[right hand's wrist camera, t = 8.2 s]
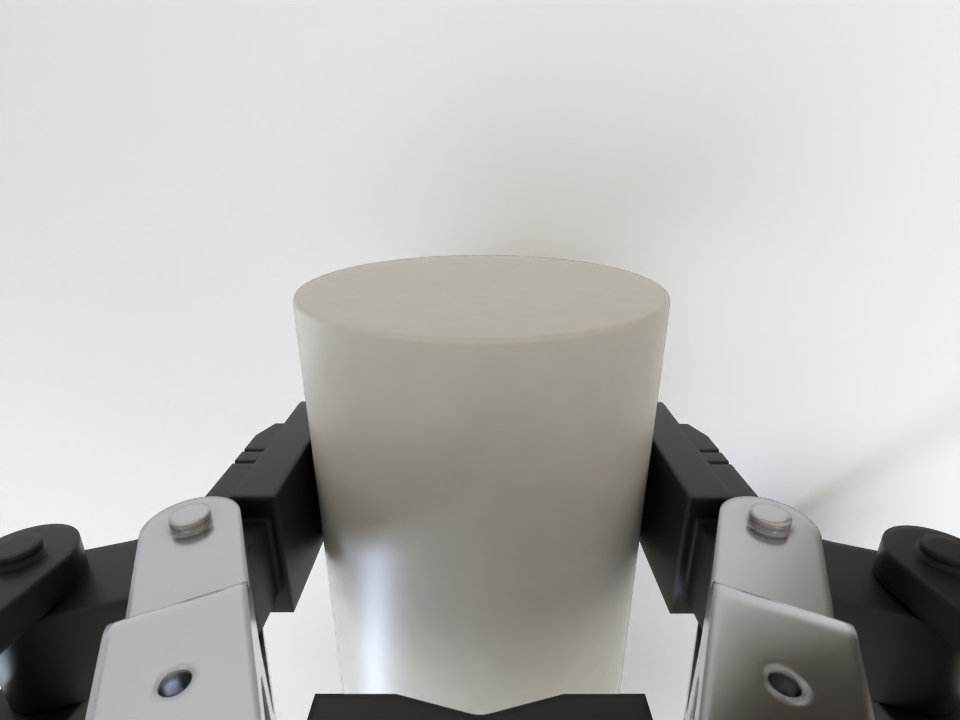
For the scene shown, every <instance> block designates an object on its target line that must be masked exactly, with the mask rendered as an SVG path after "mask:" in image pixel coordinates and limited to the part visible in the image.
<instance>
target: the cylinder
mask: <svg viewBox="0 0 960 720" xmlns="http://www.w3.org/2000/svg"><path fill="white" fill-rule="evenodd" d="M293 306H294V314H295V321H296V329H297V337H298V345H299V353H300V360H301V368H302V376H303V384H304V391H305V399H306V407H307V415H308V423H309V430H310V438H311V446H312V454H313V462H314V469H315V477H316V485H317V493H318V501H319V508H320V516H321V524H322V532H323V540H324V547H325V555H326V563H327V571H328V578H329V586H330V594H331V602H332V610H333V617H334V625H335V633H336V641H337V649H338V656H339V664H340V672H341V680H342V688H343V694H399V695H402V696H406V697H410V698H414V699H417V700H421V701H425V702H429V703H433V704H436V705H440V706H444V707H448V708H451V709H455V710H459V711H463V712H467V713H470V714H476V715H484V714H490V713H493V712H497V711H501V710H505V709H509V708H512V707H516V706H520V705H524V704H527V703H531V702H535V701H539V700H543V699H546V698H550V697H554V696H558V695H561V694H619V692H620V685H621V677H622V669H623V661H624V654H625V646H626V638H627V631H628V623H629V615H630V608H631V600H632V592H633V585H634V577H635V569H636V562H637V554H638V546H639V539H640V531H641V523H642V516H643V508H644V500H645V493H646V485H647V477H648V470H649V462H650V454H651V447H652V439H653V431H654V423H655V416H656V408H657V400H658V393H659V385H660V377H661V370H662V362H663V354H664V347H665V339H666V331H667V324H668V316H669V308H670V297H669V295H668V293H667V291H666V290H665V289H664V288H663V287H662V286H660V285H659V284H657V283H656V282H654V281H652V280H650V279H648V278H645V277H643V276H640V275H638V274H635V273H631V272H628V271H625V270H621V269H617V268H613V267H608V266H603V265H598V264H592V263H586V262H579V261H572V260H564V259H554V258H542V257H527V256H504V255H459V256H435V257H420V258H409V259H399V260H391V261H383V262H377V263H370V264H364V265H360V266H355V267H350V268H346V269H342V270H338V271H335V272H331V273H328V274H325V275H323V276H320V277H318V278H315V279H313V280H311V281H309V282H307V283H306V284H304V285H303V286H301V287H300V288H299V289H298V290H297V292H296V293H295V295H294V298H293Z"/></svg>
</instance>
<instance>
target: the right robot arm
mask: <svg viewBox="0 0 960 720" xmlns="http://www.w3.org/2000/svg"><path fill="white" fill-rule="evenodd" d="M639 541H640V543H641V546H642V548H643V550H644V553H645V555H646V558H647V560H648V562H649V565H650V567H651V569H652V572H653V574H654V576H655V579H656V581H657V584H658V586H659V588H660V591H661V593H662V595H663V598H664V600H665V602H666V605H667V607H668V610H669V612H670V613H694V615H695V617H696V619H697V621H698V626H697V631H696V637H695V642H694V649H693V656H692V664H691V671H690V678H689V685H688V692H687V700H686V707H685V714H684V720H960V538H957V537H955V536H952V535H949V534H947V533H944V532H940V531H937V530H933V529H929V528H924V527H918V526H895V527H892V528H889V529H888V530H886V531H885V532H884V534H883V536H882V539H881V542H880V545H879V548H878V551H875V550H870V549H865V548H860V547H855V546H850V545H845V544H840V543H835V542H831V541H827V540H823V539H822V538H821V534H820V531H819V530H818V528H817V526H816V525H815V524H814V523H813V522H812V521H811V520H810V519H809V518H808V517H806V516H805V515H803V514H802V513H801V512H799V511H797V510H795V509H794V508H792V507H789V506H787V505H785V504H782V503H780V502H777V501H774V500H770V499H766V498H761V497H758V496H757V495H756V494H755V492H754V491H753V490H752V489H751V488H750V486H749V485H748V484H747V483H746V482H745V480H744V479H743V478H742V477H741V476H740V475H739V473H738V472H737V471H736V470H735V469H734V467H733V466H732V465H731V464H729V461H728V460H727V459H726V458H725V457H724V455H723V454H722V453H719V449H718V448H717V447H716V446H715V445H714V443H713V442H712V441H711V440H710V439H709V437H708V436H706V435H705V434H703V433H701V432H700V431H698V430H696V429H695V428H693V427H691V426H690V425H688V424H679V423H678V422H677V421H676V419H675V418H674V417H673V416H672V414H671V413H670V412H669V410H668V409H667V408H666V406H665V405H664V404H663V403H662V402H657V408H656V416H655V423H654V431H653V439H652V447H651V454H650V462H649V470H648V477H647V485H646V493H645V500H644V508H643V516H642V523H641V531H640V539H639ZM322 543H323V532H322V524H321V516H320V508H319V501H318V493H317V485H316V477H315V469H314V462H313V454H312V446H311V438H310V430H309V423H308V415H307V407H306V402H300V403H299V405H298V406H297V407H296V409H295V410H294V411H293V413H292V414H291V415H290V417H289V418H288V419H287V420H286V422H285V423H284V424H274V425H272V426H271V427H269V428H267V429H266V430H264V431H262V432H261V433H259V434H257V435H256V436H255V437H254V438H253V440H252V441H251V442H250V443H249V444H248V446H247V447H246V448H245V452H242V453H241V454H240V455H239V457H238V458H237V459H236V460H235V464H232V465H231V466H230V467H229V469H228V470H227V471H226V472H225V473H224V475H223V476H222V477H221V478H220V480H219V481H218V482H217V483H216V484H215V486H214V487H213V488H212V489H211V490H210V492H209V493H208V494H207V495H206V496H205V497H199V498H194V499H190V500H186V501H183V502H180V503H178V504H175V505H173V506H171V507H168V508H166V509H165V510H163V511H161V512H159V513H158V514H157V515H155V516H154V517H152V518H151V519H150V520H149V521H148V522H147V523H146V524H145V525H144V526H143V528H142V530H141V531H140V534H139V538H138V539H137V540H133V541H128V542H123V543H118V544H113V545H108V546H103V547H99V548H94V549H89V550H85V549H84V546H83V543H82V540H81V537H80V534H79V532H78V530H77V529H75V528H74V527H72V526H69V525H64V524H47V525H40V526H35V527H31V528H26V529H23V530H20V531H17V532H14V533H11V534H9V535H6V536H4V537H1V538H0V687H1V690H0V720H276V714H275V707H274V700H273V692H272V685H271V678H270V671H269V664H268V656H267V649H266V642H265V637H264V631H263V626H264V624H265V622H266V620H267V618H268V616H269V614H270V612H294V610H295V608H296V605H297V603H298V601H299V598H300V596H301V593H302V591H303V589H304V586H305V584H306V581H307V579H308V577H309V574H310V572H311V569H312V567H313V565H314V562H315V560H316V557H317V555H318V553H319V550H320V548H321V545H322ZM307 720H653V719H652V716H651V712H650V709H649V706H648V703H647V700H646V696H645V694H561V695H558V696H554V697H550V698H546V699H543V700H539V701H535V702H531V703H527V704H524V705H520V706H516V707H512V708H509V709H505V710H501V711H497V712H493V713H490V714H484V715H476V714H470V713H467V712H463V711H459V710H455V709H451V708H448V707H444V706H440V705H436V704H433V703H429V702H425V701H421V700H417V699H414V698H410V697H406V696H402V695H399V694H315V696H314V700H313V703H312V706H311V709H310V712H309V716H308V719H307Z"/></svg>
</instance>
